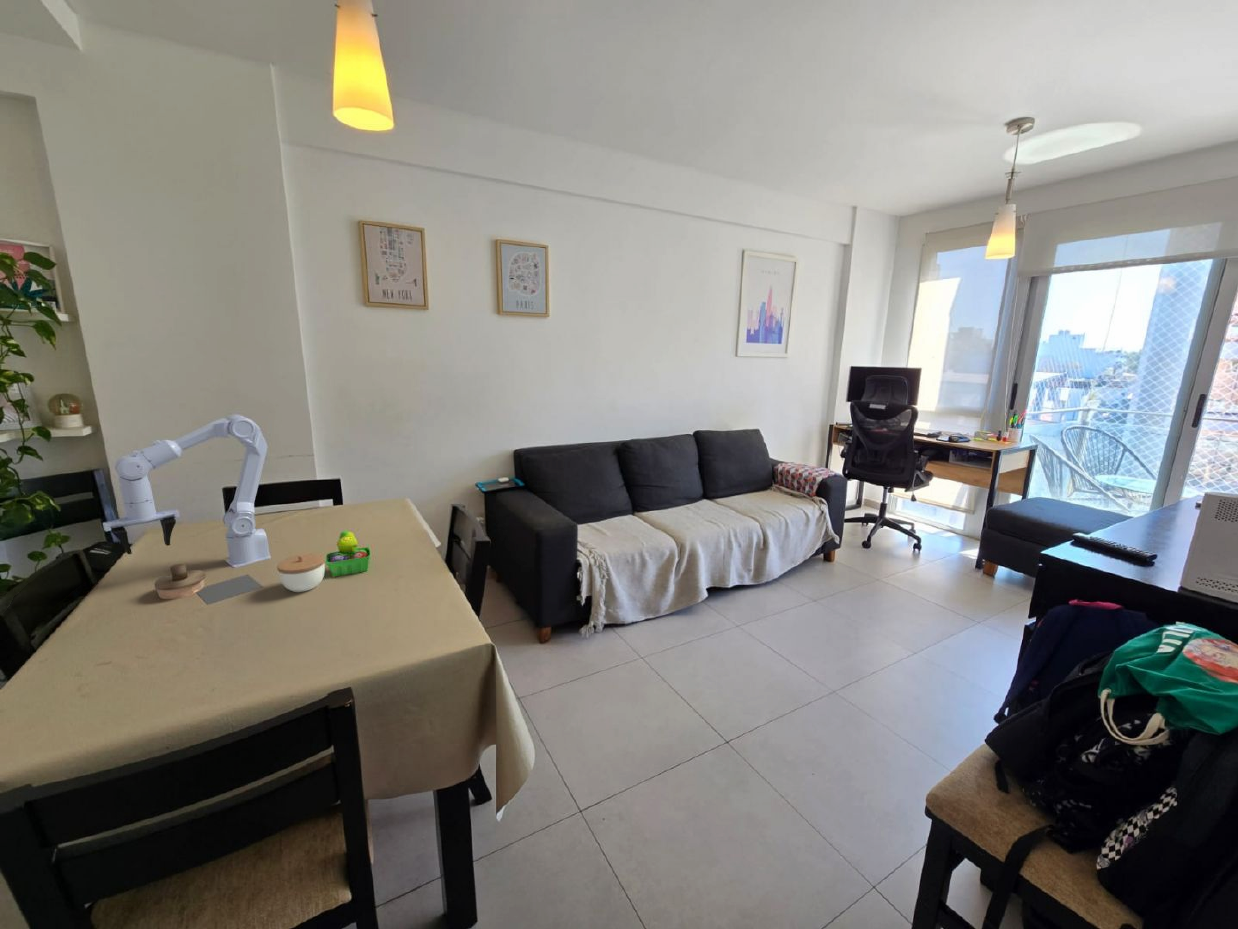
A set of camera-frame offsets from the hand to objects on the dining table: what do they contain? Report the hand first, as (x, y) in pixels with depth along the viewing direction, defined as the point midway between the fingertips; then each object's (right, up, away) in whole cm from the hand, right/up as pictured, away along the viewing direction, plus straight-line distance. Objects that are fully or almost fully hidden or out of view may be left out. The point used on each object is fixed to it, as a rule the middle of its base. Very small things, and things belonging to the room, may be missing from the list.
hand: (148, 548), depth 133 cm
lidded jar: (+41, -11, +1) cm, 43 cm away
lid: (+12, -8, -3) cm, 15 cm away
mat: (+22, -11, -1) cm, 25 cm away
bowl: (+11, -11, -2) cm, 16 cm away
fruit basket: (+48, -9, +13) cm, 50 cm away
